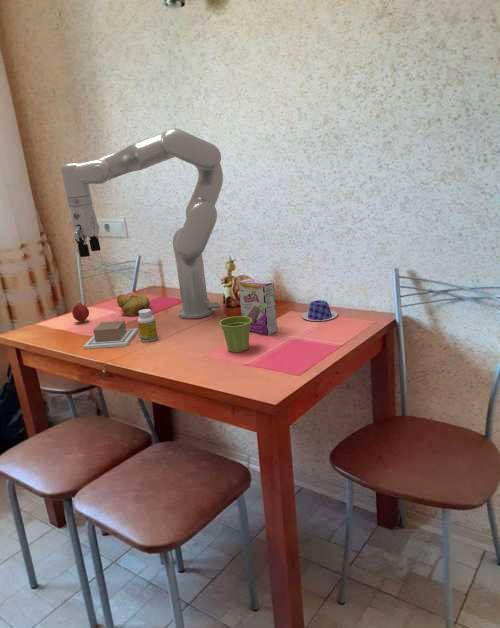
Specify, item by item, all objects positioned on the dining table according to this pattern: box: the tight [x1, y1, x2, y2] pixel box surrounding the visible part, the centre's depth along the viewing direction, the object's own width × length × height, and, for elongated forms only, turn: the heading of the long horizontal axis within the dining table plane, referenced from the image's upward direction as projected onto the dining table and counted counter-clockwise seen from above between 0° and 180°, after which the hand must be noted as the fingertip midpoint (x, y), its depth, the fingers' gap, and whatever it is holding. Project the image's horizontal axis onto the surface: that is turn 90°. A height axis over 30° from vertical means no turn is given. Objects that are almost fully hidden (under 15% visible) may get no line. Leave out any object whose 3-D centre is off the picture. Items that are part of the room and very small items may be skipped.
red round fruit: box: [72, 301, 90, 323], centre depth 188 cm, size 6×6×8 cm
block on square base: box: [82, 320, 139, 350], centre depth 167 cm, size 14×14×5 cm
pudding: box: [301, 299, 338, 322], centre depth 170 cm, size 12×12×5 cm
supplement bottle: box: [137, 308, 158, 343], centre depth 163 cm, size 5×5×10 cm
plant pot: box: [219, 315, 252, 353], centre depth 148 cm, size 9×9×9 cm
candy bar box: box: [237, 278, 278, 337], centre depth 160 cm, size 11×5×16 cm, turn 47°
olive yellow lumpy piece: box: [116, 293, 151, 316], centre depth 195 cm, size 13×10×8 cm
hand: (90, 253), depth 171 cm, fingers open, 9 cm apart
